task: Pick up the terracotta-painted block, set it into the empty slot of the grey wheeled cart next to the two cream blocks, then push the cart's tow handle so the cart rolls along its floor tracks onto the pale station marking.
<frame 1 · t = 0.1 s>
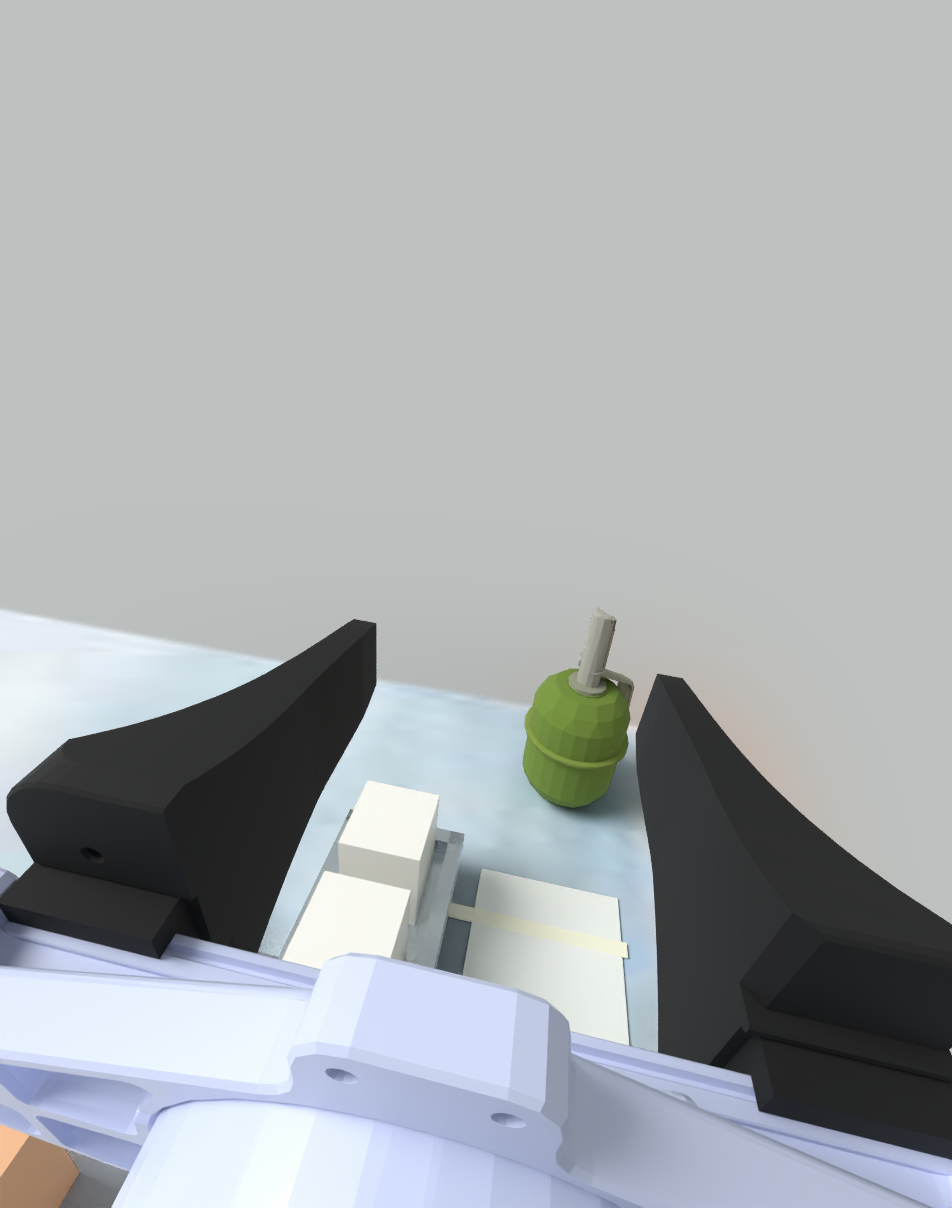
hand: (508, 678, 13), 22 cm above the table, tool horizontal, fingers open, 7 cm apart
part c: (389, 881, 28), point 2 cm above the table, touching cart
track: (452, 1052, 24), on the table
cart: (279, 987, 24), point 2 cm above the table, slide at 0.0 cm, touching part b, part c
part b: (351, 990, 24), point 2 cm above the table, touching cart
grenade: (566, 786, 39), on the table
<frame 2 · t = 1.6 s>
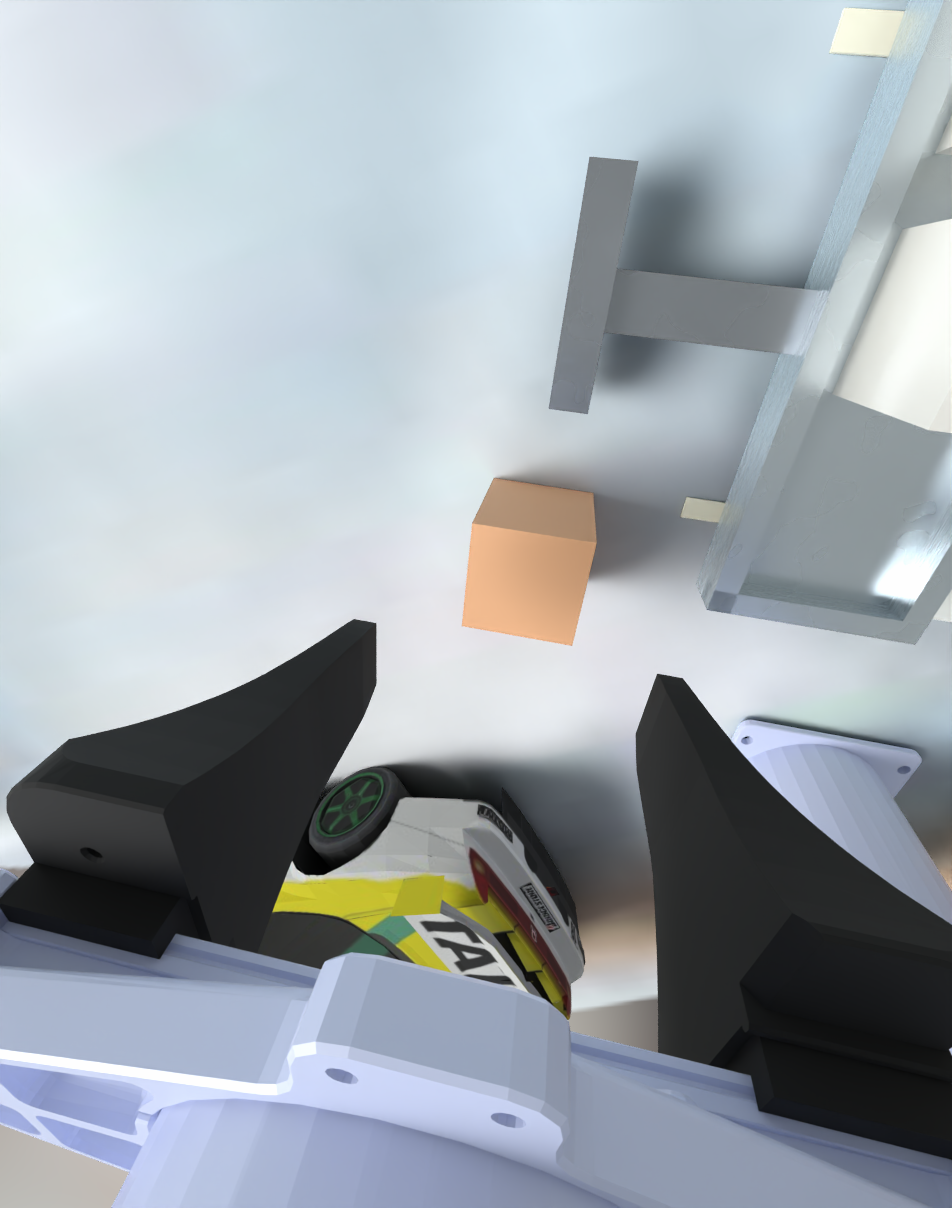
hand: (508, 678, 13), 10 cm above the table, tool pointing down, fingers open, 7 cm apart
cart: (801, 323, 15), point 2 cm above the table, slide at 0.0 cm, touching part b, part c
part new: (535, 531, 22), on the table
part b: (941, 326, 14), point 2 cm above the table, touching cart
racing car: (312, 868, 38), on the table
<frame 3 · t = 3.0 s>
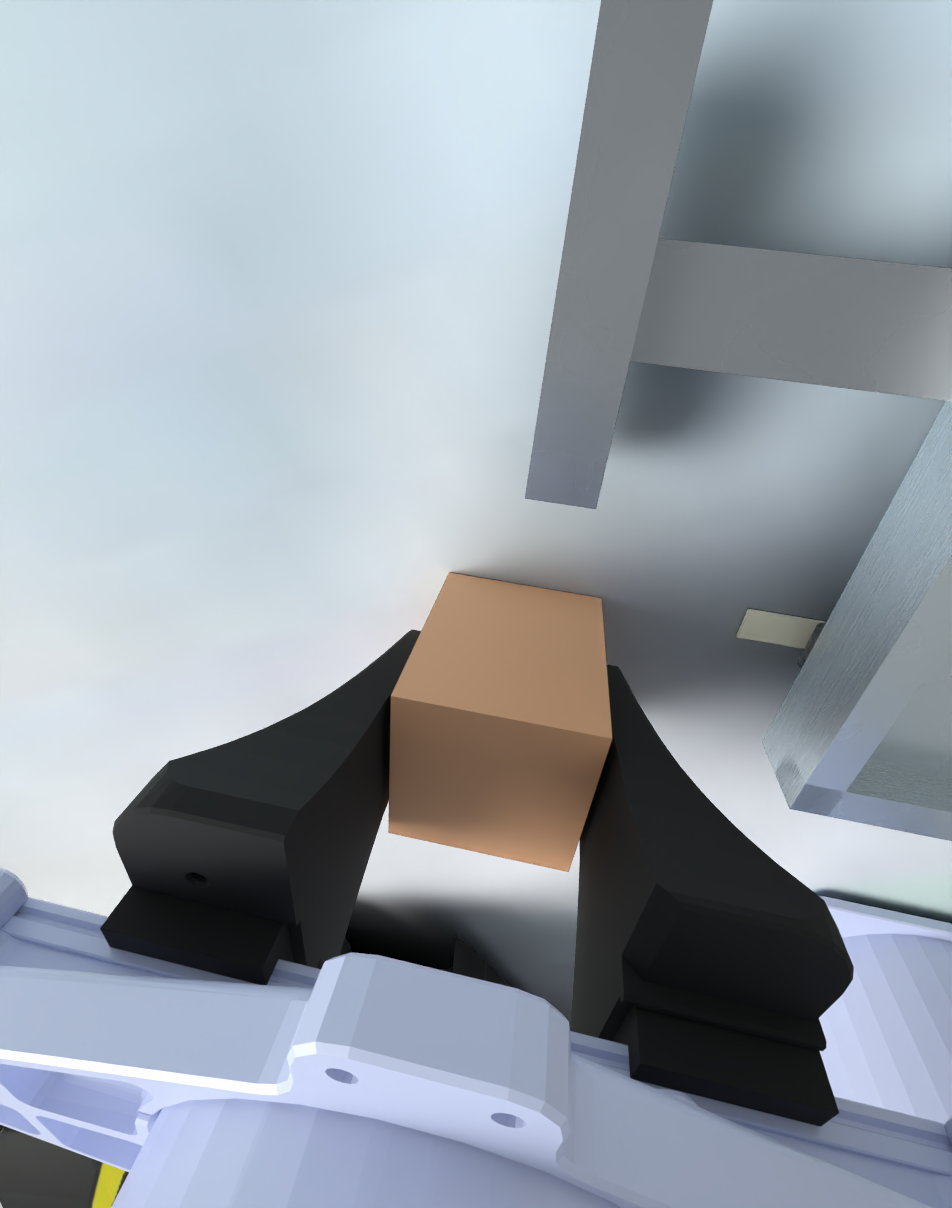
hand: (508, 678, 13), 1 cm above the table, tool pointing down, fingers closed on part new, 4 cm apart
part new: (513, 647, 15), on the table, touching gripper
racing car: (249, 998, 31), on the table
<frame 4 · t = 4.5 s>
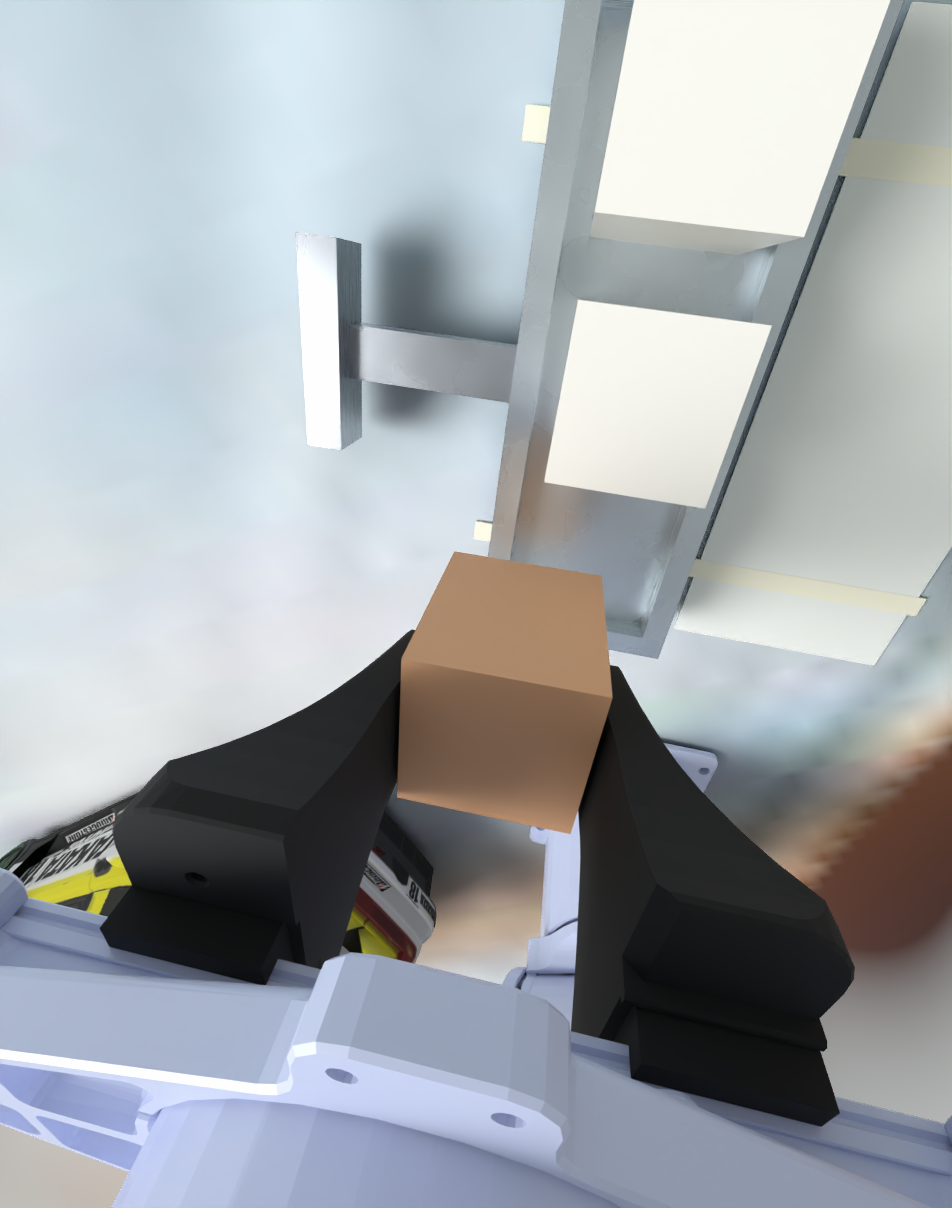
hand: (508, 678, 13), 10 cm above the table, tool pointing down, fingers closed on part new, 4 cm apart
part c: (685, 151, 13), point 2 cm above the table, touching cart
track: (765, 402, 18), on the table
cart: (522, 374, 17), point 2 cm above the table, slide at 0.0 cm, touching part b, part c
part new: (516, 625, 15), point 8 cm above the table, touching gripper
part b: (628, 381, 16), point 2 cm above the table, touching cart
racing car: (207, 855, 40), on the table
when the fingers open (5 cm above the table, at t = 6.0 s): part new stays where it is, resting on cart.
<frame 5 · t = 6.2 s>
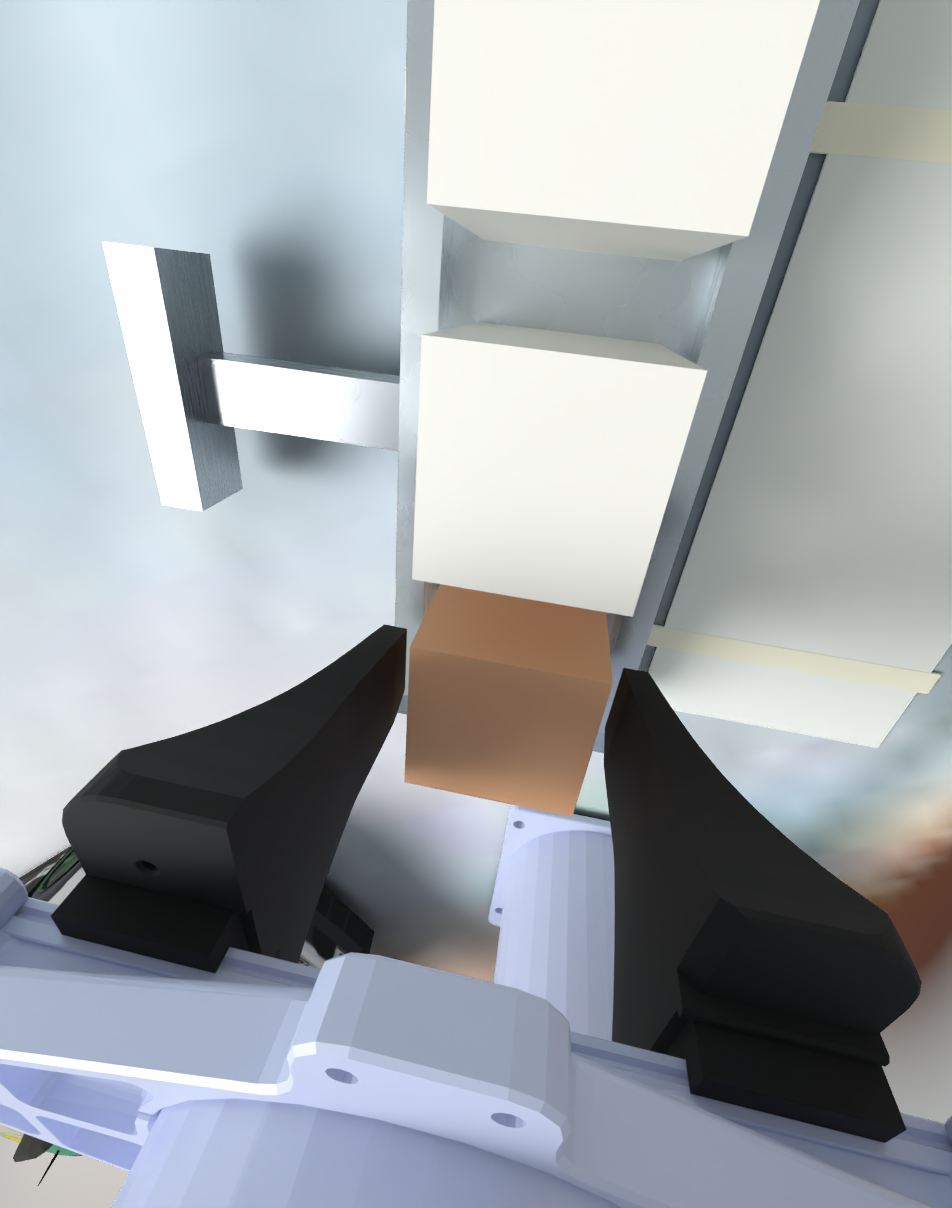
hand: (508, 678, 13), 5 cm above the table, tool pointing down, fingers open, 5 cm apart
part c: (602, 121, 10), point 2 cm above the table, touching cart
track: (734, 443, 14), on the table
cart: (422, 414, 14), point 2 cm above the table, slide at 0.0 cm, touching part b, part c, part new
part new: (519, 616, 15), point 2 cm above the table, touching cart
part b: (551, 425, 13), point 2 cm above the table, touching cart
racing car: (145, 921, 36), on the table
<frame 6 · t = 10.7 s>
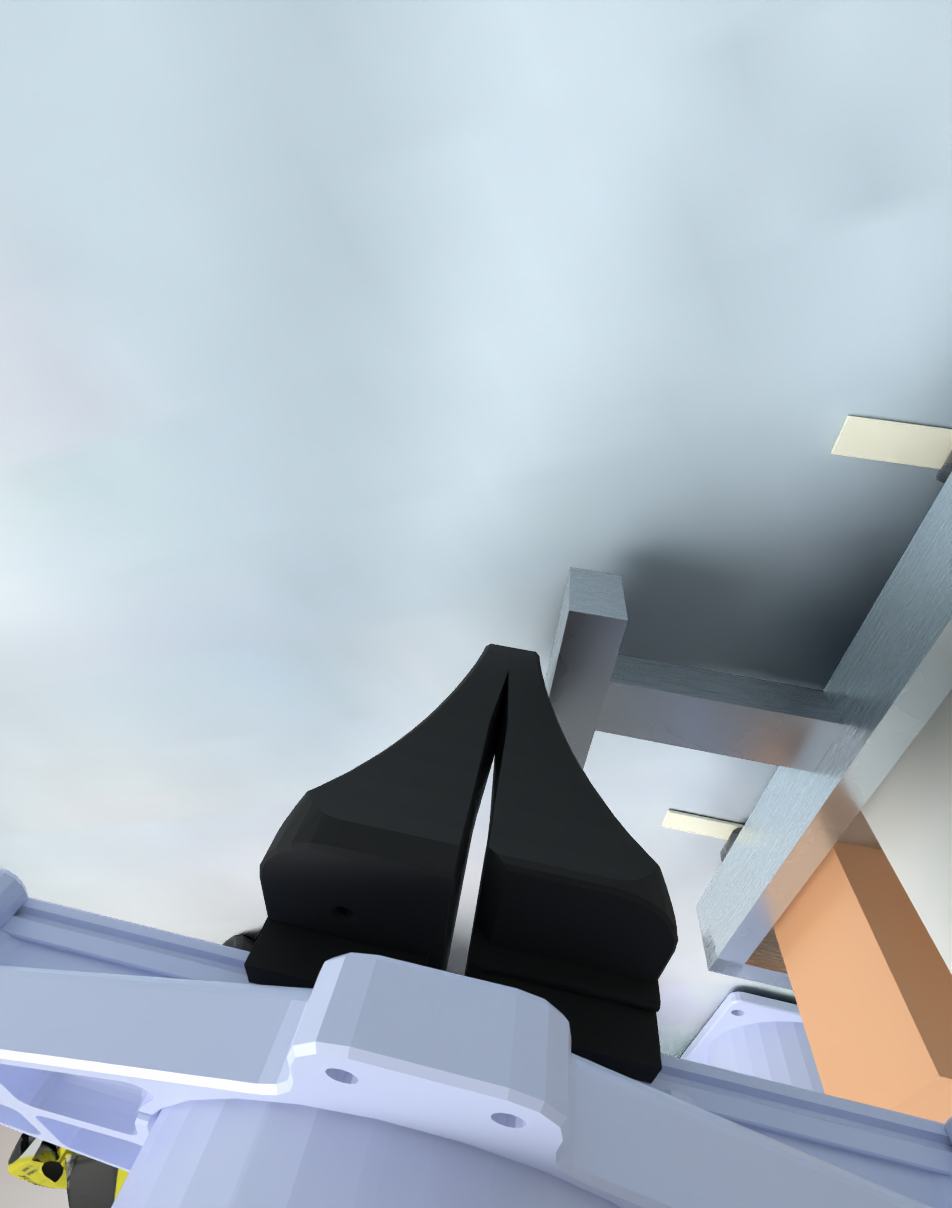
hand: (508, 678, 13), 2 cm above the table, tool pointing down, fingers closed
cart: (821, 726, 13), point 2 cm above the table, slide at 0.6 cm, touching gripper, part b, part c, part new
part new: (870, 897, 15), point 2 cm above the table, touching cart
racing car: (271, 1034, 36), on the table
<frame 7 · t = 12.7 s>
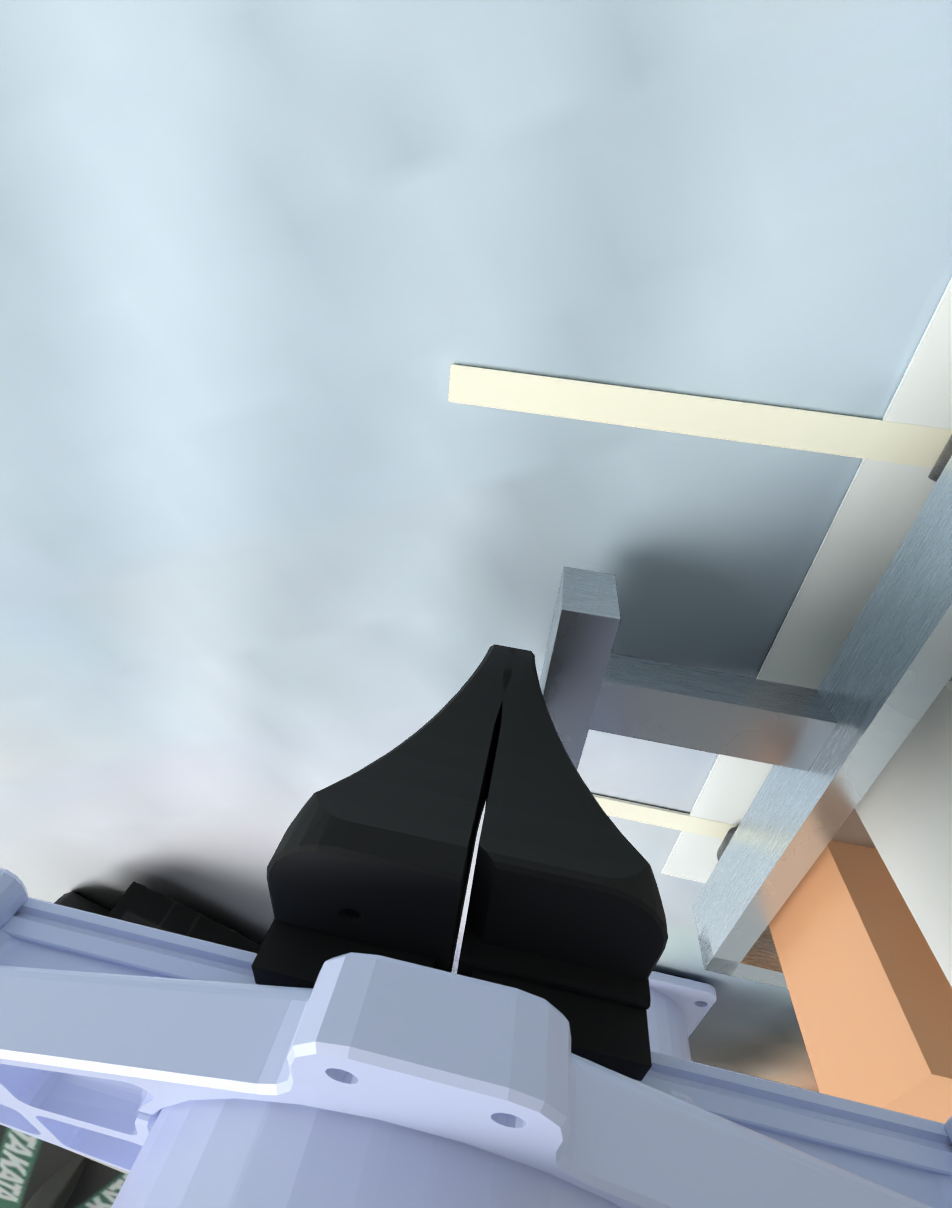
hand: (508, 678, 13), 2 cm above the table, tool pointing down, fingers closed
track: (765, 675, 15), on the table
cart: (815, 725, 13), point 2 cm above the table, slide at 9.0 cm, touching gripper, part b, part c, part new
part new: (866, 896, 15), point 2 cm above the table, touching cart
racing car: (153, 1002, 36), on the table
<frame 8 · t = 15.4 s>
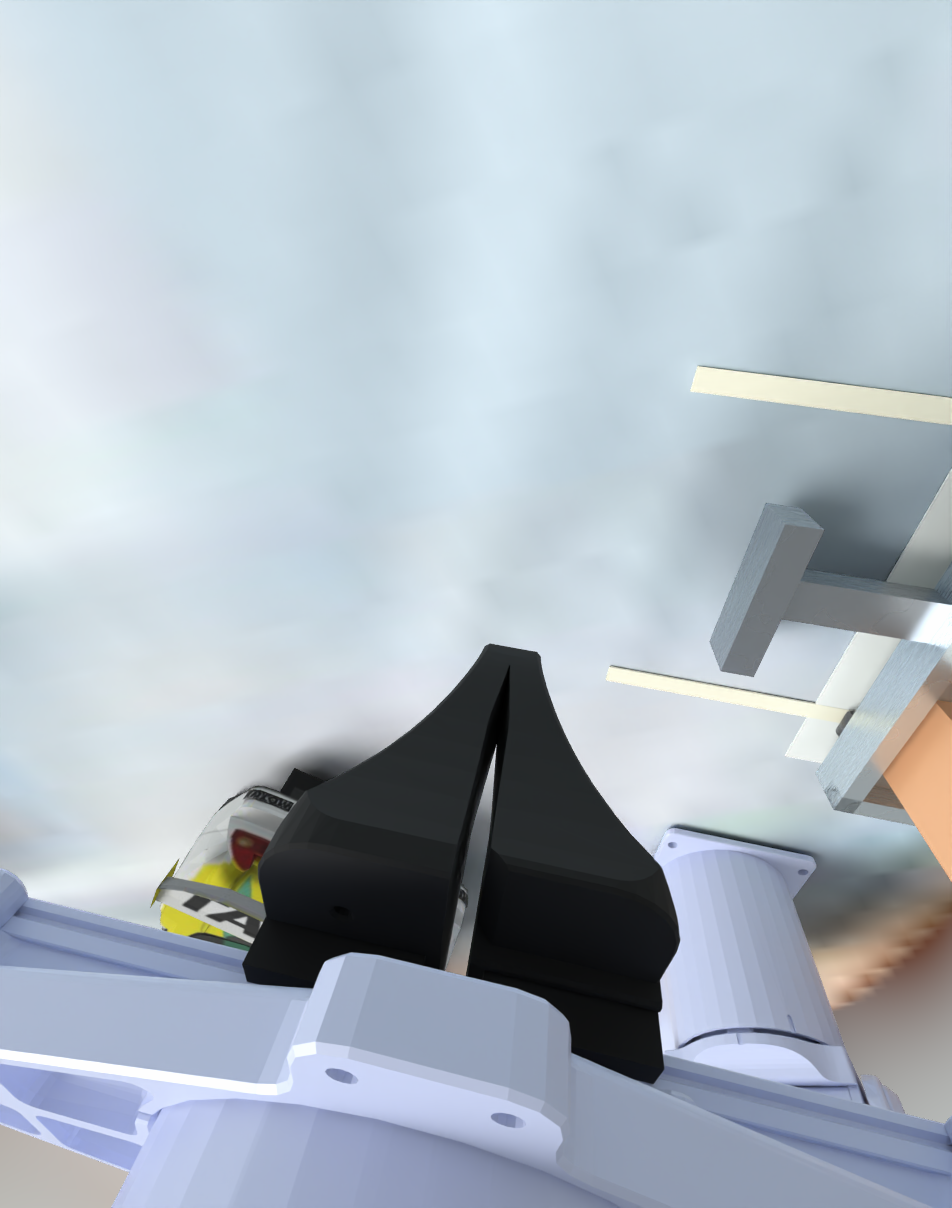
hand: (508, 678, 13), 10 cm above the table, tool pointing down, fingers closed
track: (888, 587, 20), on the table
cart: (932, 614, 19), point 2 cm above the table, slide at 9.0 cm, touching part b, part c, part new
racing car: (295, 911, 42), on the table
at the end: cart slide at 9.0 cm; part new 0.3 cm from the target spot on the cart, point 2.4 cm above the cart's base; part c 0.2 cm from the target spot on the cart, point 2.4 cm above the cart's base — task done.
